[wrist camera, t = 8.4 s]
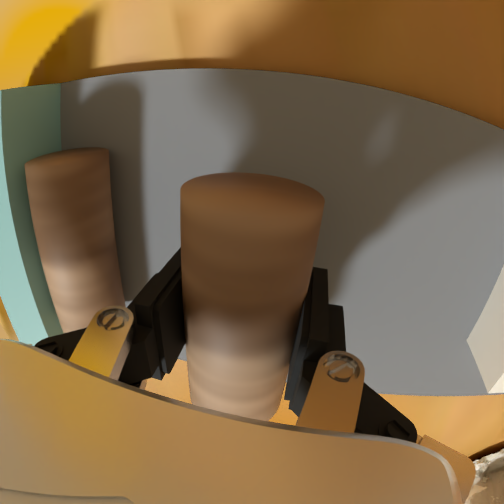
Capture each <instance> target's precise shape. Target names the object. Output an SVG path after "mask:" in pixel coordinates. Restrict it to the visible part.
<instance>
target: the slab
mask: <svg viewBox="0 0 504 504" xmlns="http://www.w3.org/2000/svg"><path fill="white" fill-rule="evenodd" d="M467 342H468V345H469V347H470V349H471V352H472V354H473V356H474V359H475V361H476V364H477V366H478V368H479V371H480V374H481V376H482V379H483V381H484V384H485V387H486V389H487V392H488V393H504V265H503V268H502V270H501V273H500V275H499V277H498V279H497V282H496V284H495V286H494V288H493V290H492V293H491V295H490V297H489V299H488V301H487V303H486V305H485V307H484V309H483V311H482V313H481V315H480V317H479V319H478V321H477V322H476V324H475V326H474V328H473V330H472V332H471V333H470V335H469V337H468V339H467Z"/></svg>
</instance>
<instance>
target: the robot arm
mask: <svg viewBox="0 0 504 504" xmlns="http://www.w3.org/2000/svg"><path fill="white" fill-rule="evenodd" d="M184 345H185V329H184V313H183V295H182V271H181V247H180V248H179V250H178V251H177V252H176V253H175V254H174V255H173V256H172V258H171V259H170V260H169V261H168V262H167V263H166V265H165V266H164V267H163V268H162V269H161V270H160V272H159V273H156V274H155V275H154V276H153V277H152V278H151V279H150V280H149V281H148V283H147V284H146V285H145V286H144V287H143V289H142V290H141V291H140V292H139V293H138V294H137V296H136V297H135V298H134V299H133V300H132V302H131V303H130V304H129V305H128V307H127V308H126V307H123V306H108V307H105V308H103V309H101V310H99V311H98V312H97V313H96V314H95V315H94V317H93V318H92V320H91V322H90V323H89V325H88V327H87V328H83V329H79V330H75V331H71V332H67V333H63V334H59V335H55V336H51V337H47V338H45V339H42V340H40V341H39V342H37V343H36V344H35V346H32V344H26V343H23V342H18V341H14V340H9V339H0V504H465V502H466V499H467V497H468V494H469V492H470V489H471V487H472V484H473V482H474V479H475V475H476V469H475V465H474V463H473V462H472V460H471V459H469V458H468V457H467V456H465V455H463V454H461V453H459V452H457V451H455V450H453V449H451V448H449V447H447V446H445V445H444V444H442V443H440V442H438V441H436V440H434V439H432V438H430V437H429V436H427V435H424V436H423V437H421V436H419V435H417V430H416V428H415V426H414V424H413V423H412V422H411V421H410V420H409V419H408V418H406V417H405V416H404V415H403V414H402V413H400V412H399V411H398V410H397V409H396V408H394V407H393V406H392V405H391V404H390V403H388V402H387V401H386V400H385V399H383V398H382V397H381V396H380V395H379V394H377V393H376V392H375V391H374V390H373V389H372V388H370V387H369V386H368V385H367V384H366V383H364V377H365V368H364V366H363V363H362V362H361V361H360V360H359V359H358V358H357V357H356V356H354V355H353V354H350V353H348V352H346V340H345V324H344V311H343V306H340V305H334V304H329V297H328V269H324V268H318V267H313V269H312V272H311V277H310V282H309V286H308V291H307V294H306V297H305V300H304V304H303V309H302V313H301V318H300V322H299V326H298V331H297V335H296V339H295V343H294V348H293V352H292V356H291V360H290V364H289V371H288V378H287V384H286V391H285V397H284V400H290V403H289V409H291V410H292V411H293V412H294V413H295V414H296V415H297V416H298V420H297V423H296V425H295V426H293V425H286V424H280V423H274V422H268V421H263V420H258V419H252V418H247V417H243V416H238V415H233V414H229V413H225V412H220V411H216V410H212V409H208V408H204V407H200V406H196V405H193V404H189V403H185V402H182V401H178V400H175V399H171V398H168V397H165V396H161V395H158V394H155V393H152V392H149V391H146V390H145V387H146V383H147V379H148V378H151V377H152V378H155V379H158V380H162V379H163V377H164V375H165V373H168V374H169V373H170V372H171V370H172V368H173V366H174V364H175V362H176V361H177V359H178V357H179V355H180V353H181V351H182V349H183V347H184Z"/></svg>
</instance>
